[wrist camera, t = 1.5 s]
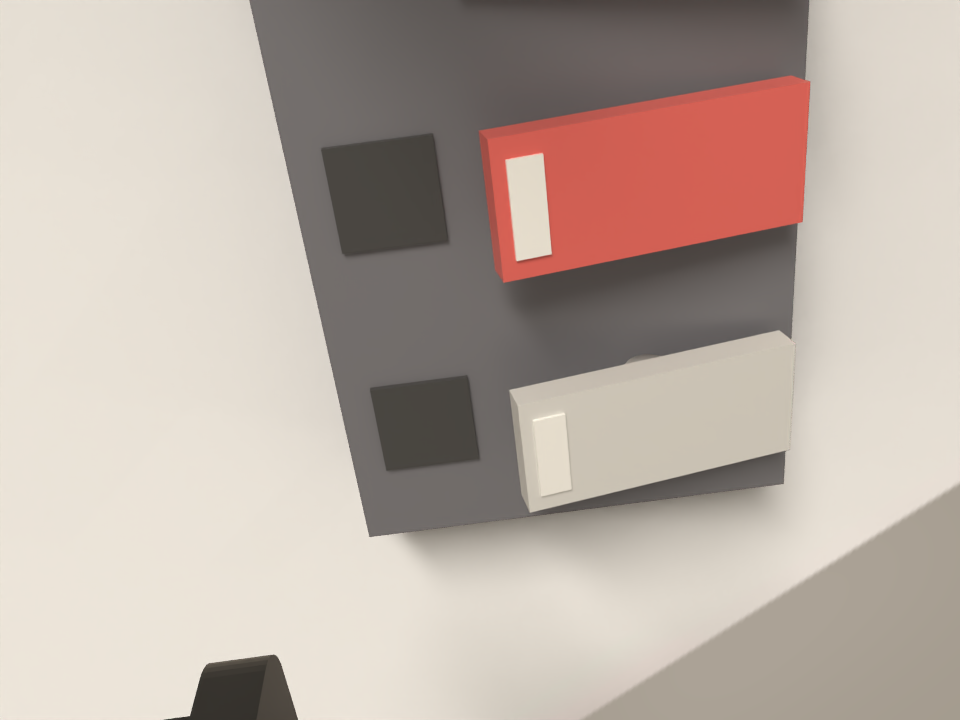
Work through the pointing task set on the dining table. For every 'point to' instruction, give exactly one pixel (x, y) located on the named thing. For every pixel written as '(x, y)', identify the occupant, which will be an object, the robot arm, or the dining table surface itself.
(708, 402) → the grey rocker far end
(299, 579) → the dining table surface
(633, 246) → the block
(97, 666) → the dining table surface
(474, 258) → the power strip
